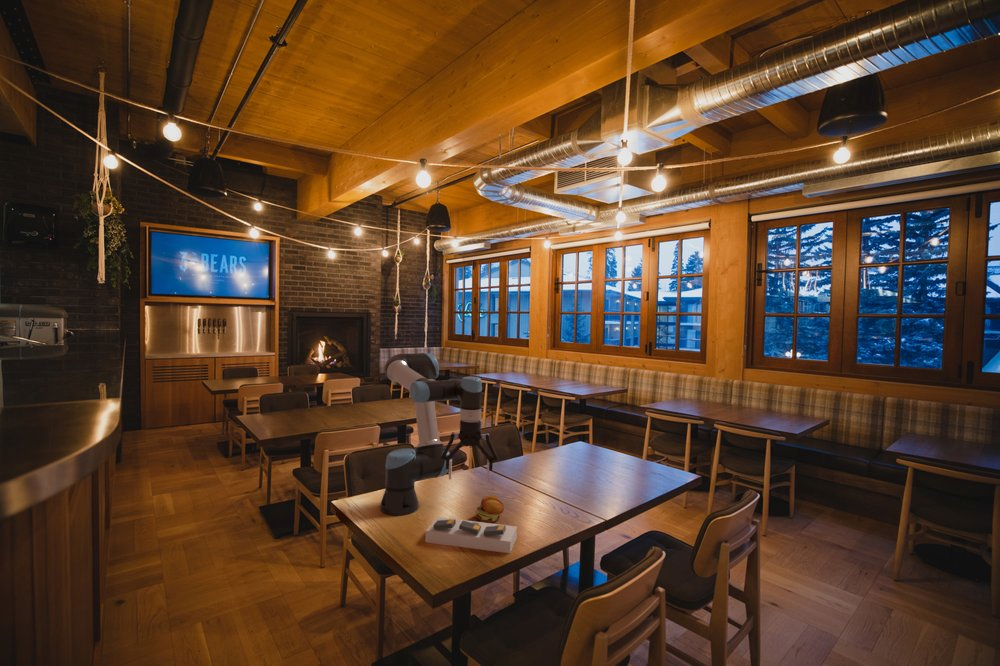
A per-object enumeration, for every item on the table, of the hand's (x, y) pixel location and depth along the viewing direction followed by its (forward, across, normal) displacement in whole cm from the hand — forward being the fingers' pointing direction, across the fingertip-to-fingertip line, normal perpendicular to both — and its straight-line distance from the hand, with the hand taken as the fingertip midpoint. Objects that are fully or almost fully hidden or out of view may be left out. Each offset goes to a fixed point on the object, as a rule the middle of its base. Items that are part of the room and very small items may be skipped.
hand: (468, 478), depth 170 cm
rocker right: (+15, +10, -9) cm, 20 cm away
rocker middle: (+15, +1, -7) cm, 17 cm away
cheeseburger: (+20, +8, +14) cm, 26 cm away
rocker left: (+15, -8, -5) cm, 18 cm away
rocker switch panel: (+20, +2, -4) cm, 21 cm away
